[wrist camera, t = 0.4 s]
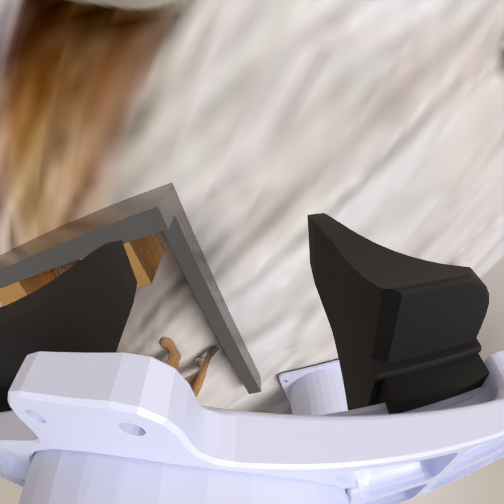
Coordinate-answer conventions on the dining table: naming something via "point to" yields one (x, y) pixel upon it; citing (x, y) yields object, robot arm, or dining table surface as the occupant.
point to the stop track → (131, 261)
